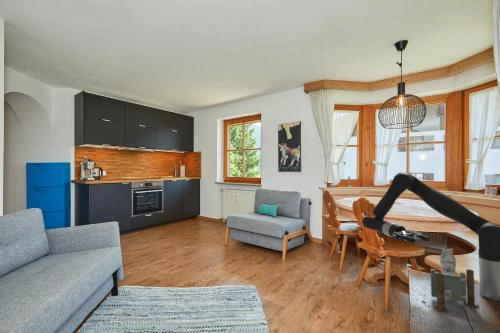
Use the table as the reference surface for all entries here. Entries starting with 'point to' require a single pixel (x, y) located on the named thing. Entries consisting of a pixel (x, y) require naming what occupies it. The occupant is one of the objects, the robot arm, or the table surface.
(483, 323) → the table surface
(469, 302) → the hinge post
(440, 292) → the post
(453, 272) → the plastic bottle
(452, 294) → the gate
